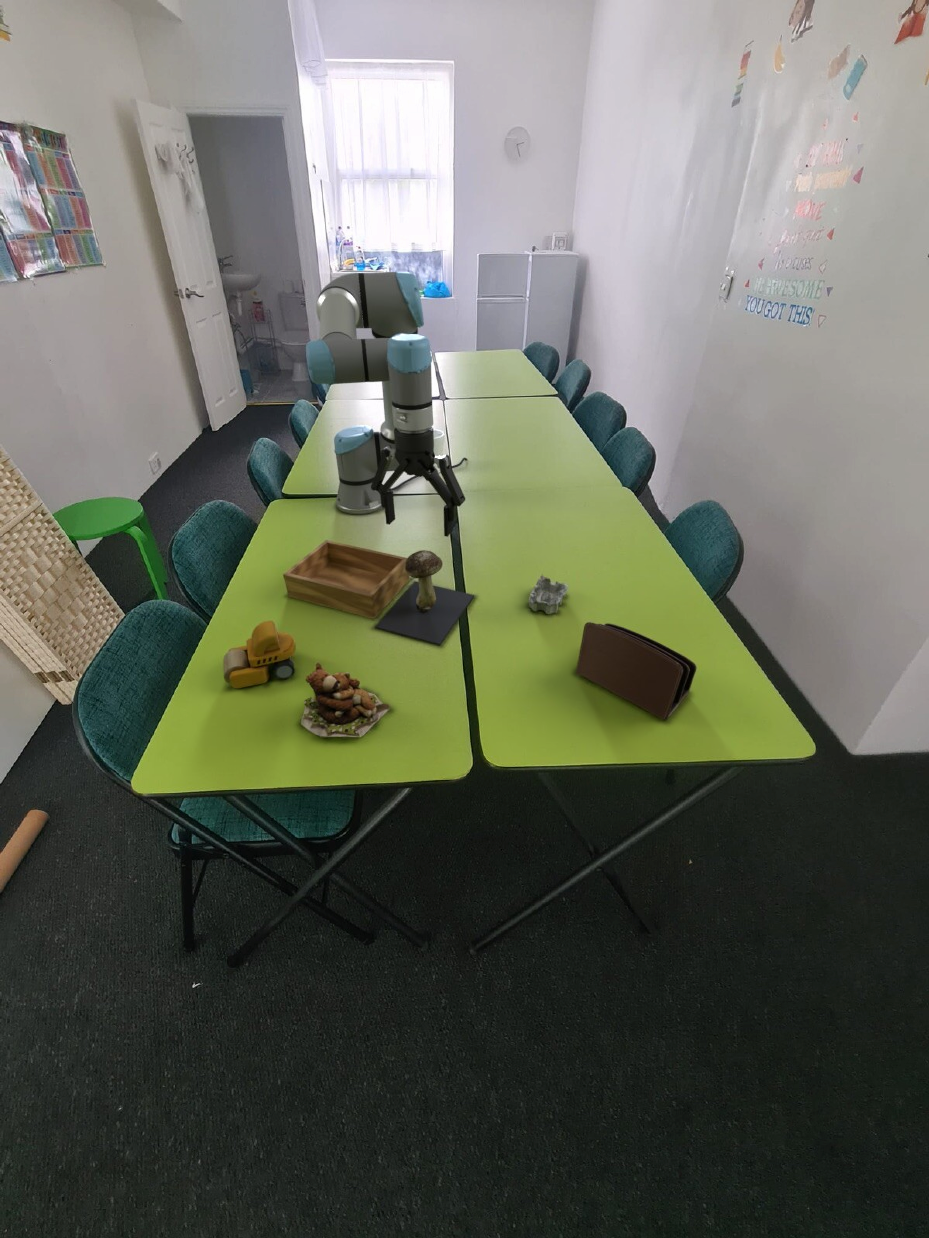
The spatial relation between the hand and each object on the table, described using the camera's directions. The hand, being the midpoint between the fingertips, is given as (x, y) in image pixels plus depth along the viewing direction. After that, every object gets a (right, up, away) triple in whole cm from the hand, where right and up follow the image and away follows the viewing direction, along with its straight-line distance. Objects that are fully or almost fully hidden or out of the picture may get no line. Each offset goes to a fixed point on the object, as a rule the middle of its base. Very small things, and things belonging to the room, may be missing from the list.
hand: (419, 527), depth 118 cm
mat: (+1, -18, +12) cm, 22 cm away
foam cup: (-2, +33, +80) cm, 86 cm away
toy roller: (-32, -30, -4) cm, 44 cm away
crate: (-19, -12, +20) cm, 30 cm away
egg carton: (+30, -15, +15) cm, 37 cm away
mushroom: (+1, -17, +12) cm, 21 cm away
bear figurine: (-13, -37, -14) cm, 42 cm away
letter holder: (+43, -32, -7) cm, 54 cm away
